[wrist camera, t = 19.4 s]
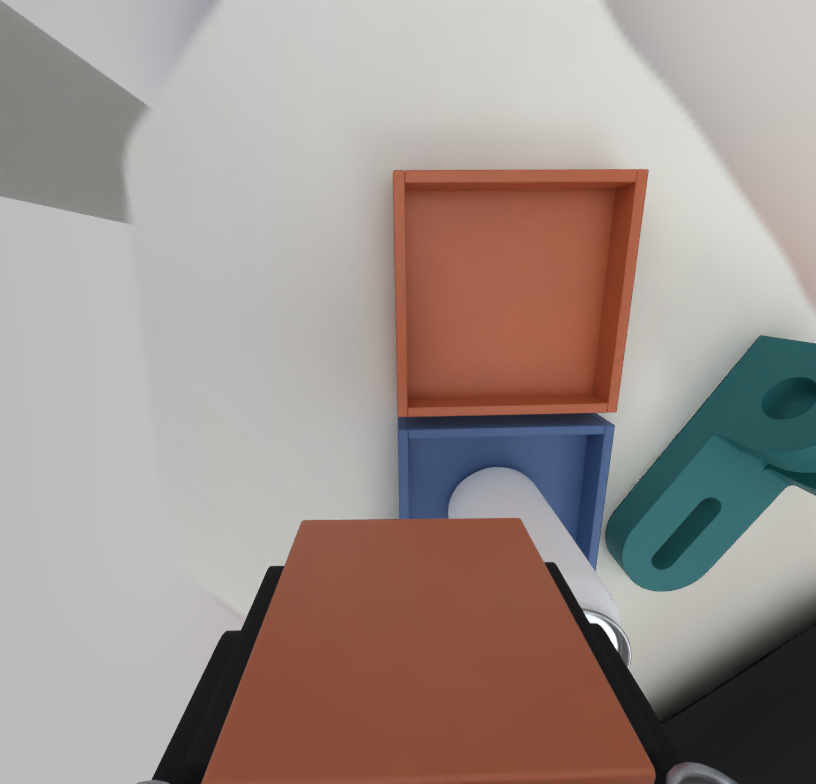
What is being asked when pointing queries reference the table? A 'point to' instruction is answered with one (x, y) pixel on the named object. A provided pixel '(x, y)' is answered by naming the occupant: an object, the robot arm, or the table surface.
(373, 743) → the block
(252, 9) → the table surface
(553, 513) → the can
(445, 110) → the table surface
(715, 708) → the portable speaker
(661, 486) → the bracket
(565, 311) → the terracotta tray
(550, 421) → the blue tray
